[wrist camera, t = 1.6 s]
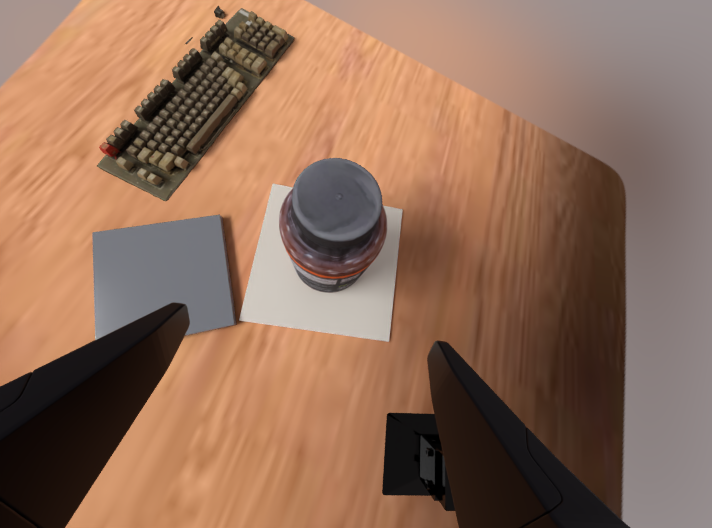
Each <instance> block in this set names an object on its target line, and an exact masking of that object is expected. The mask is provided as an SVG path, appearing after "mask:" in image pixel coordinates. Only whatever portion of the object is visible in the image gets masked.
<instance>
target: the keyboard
mask: <svg viewBox="0 0 712 528" xmlns="http://www.w3.org/2000/svg"><path fill="white" fill-rule="evenodd" d="M214 13H215V16H216V17H219V18H221V19H222V18H224V17H225V14H224V11H223V10H221V9H220V8H219V6H218V7H217V8H216V9H215V11H214ZM294 38H295V37H293V36H291V35H289V34H287V32H286V31H285V30H283V29H281V28H279V27H277V26H276V25H275V26H273V25H272V24H271V23H270V22H268V21H267V22H265V21H264V19H263V18H261V17H257V15H256V14H255V13H254V12H252V11H251V12H248V11H246V10H244V9H242V8H241V9H240V10H239V11H238V12H237V13H236V14H235V15H234V16H233V17H232V18H231V19H230V20H229V21H228V22H227V23H226V24H224V22H222V21H221V20H218V21H217V22H216V23H215V25H214V26H212V27H211V28H210V31H208V32H207V33H206V34H205V37H204V36H203V37H202V38H201V39H200V44H201V48H202V49H203V50H202V51H201V52H200V53H199V52H198V51H197V50H196V49H191V50H190V51H189V55H188V54H186V55H185V56H184V57H183V61H182V60H180V61H179V62H178V67H176V66H175V67H174V68H173V69H172V72H173V77H174V78H176V79H175V80H174V82H173V83H171V82H169V81H168V80H164V79H162V81H161V82H160V86H158V85H157V86H156V87H155V88H154V93H153V92H150V93H149V94H148V95H147V97H148V100H147V99H144V100H143V101H142V102H141V105H142V107H141V106H137V107H136V108H135V110H134V111H135V113H136V114H137V116H138V117H139V119H138V120H137V121H136V123H135V124H134V125H133V124H132V123H130V122H128V121H126V120H124V121H123V122H122V123H121V128H122V129H121V128H118V127H117V128H116V129H115V130H114V134H115V136H113V135H110V136H109V137H108V138H107V139H106V140H107V142H108V143H105V142H104V143H103V144H102V145H101V146H100V147H99V148H100V150H101V151H102V152H103V153H104V154H107V155H106V156H105V157H104V158H103V159H102V160H101V161H100V163H99V164H98V165H97V167H99V168H101V169H102V170H104V171H106V172H108V173H110V174H112V175H114V176H116V177H118V178H120V179H122V180H124V181H125V182H127V183H130V184H132V185H134V186H136V187H138V188H140V189H142V190H143V191H146V192H148V193H150V194H152V195H153V196H155V197H158V198H160V199H162V200H163V201H167V200H169V198H170V197H171V195H172V194H173V193H174V192H175V190H176V189H177V188H178V187H179V185H180V184H181V183H182V182H183V180H184V179H185V178H186V177H187V176H188V174H189V173H190V171H191V170H192V169H193V168H194V167H195V165H196V164H197V163H198V162H199V160H200V159H201V158H202V157H203V155H204V154H205V153H206V151H207V150H208V148H209V147H210V146H211V145H212V144H213V143H214V141H215V139H216V138H217V137H218V136H219V134H220V133H221V132H222V131H223V129H224V128H225V126H226V125H227V124H228V123H229V122H230V120H231V119H232V118H233V117H234V115H235V114H236V113H237V112H238V111H239V109H240V108H241V107H242V105H243V104H244V103H245V102H246V100H247V99H248V98H249V97H250V96H251V94H252V93H253V92H254V90H255V89H256V88H257V87H258V86H259V84H260V83H261V82H262V80H263V79H264V78H265V77H266V76H267V74H268V73H269V72H270V70H271V69H272V68H273V66H274V65H275V64H276V63H277V61H278V60H279V59H280V57H281V56H282V55H283V54H284V53H285V51H286V50H287V49H288V47H289V46H290V45H291V44H292V43H293V40H294ZM191 39H192V38H191ZM191 39H189V40H188V41H187V42H186V44H187V43H188V42H189V41H190V40H191Z"/></svg>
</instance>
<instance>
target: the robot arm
mask: <svg viewBox="0 0 712 528" xmlns="http://www.w3.org/2000/svg"><path fill="white" fill-rule="evenodd" d="M189 325H190V318H189V313H188V307H187V305H186V304H183V303H176V302H173V303H170V304H168V305H166V306H164V307H162V308H160V309H158V310H156V311H154V312H152V313H149V314H147V315H145V316H143V317H141V318H139V319H137V320H135V321H133V322H131V323H129V324H127V325H125V326H123V327H121V328H119V329H117V330H115V331H113V332H111V333H109V334H107V335H105V336H103V337H101V338H99V339H97V340H95V341H92V342H90V343H88V344H86V345H84V346H82V347H80V348H78V349H76V350H74V351H72V352H70V353H68V354H66V355H64V356H62V357H60V358H58V359H56V360H54V361H52V362H50V363H48V364H46V365H44V366H42V367H40V368H38V369H35V370H34V371H33V373H32V372H29V373H27V374H25V375H23V376H21V377H19V378H17V379H15V380H13V381H11V382H9V383H7V384H5V385H3V386H0V528H65V527H66V525H67V524H68V522H69V521H70V519H71V518H72V516H73V514H74V513H75V511H76V510H77V508H78V507H79V505H80V504H81V502H82V501H83V499H84V497H85V496H86V494H87V493H88V491H89V490H90V488H91V487H92V485H93V484H94V482H95V481H96V479H97V477H98V476H99V474H100V473H101V471H102V470H103V468H104V467H105V465H106V464H107V462H108V460H109V459H110V457H111V456H112V454H113V453H114V451H115V450H116V448H117V447H118V445H119V443H120V442H121V440H122V439H123V437H124V436H125V434H126V433H127V431H128V430H129V428H130V426H131V425H132V423H133V422H134V420H135V419H136V417H137V416H138V414H139V413H140V411H141V409H142V408H143V406H144V405H145V403H146V402H147V400H148V399H149V397H150V396H151V394H152V392H153V391H154V389H155V388H156V386H157V385H158V383H159V382H160V380H161V379H162V377H163V375H164V374H165V372H166V371H167V369H168V367H169V365H170V363H171V362H172V360H173V358H174V356H175V354H176V352H177V350H178V348H179V346H180V344H181V342H182V340H183V338H184V336H185V334H186V332H187V330H188V328H189ZM427 361H428V370H429V380H430V389H431V397H432V403H433V409H434V413H435V418H436V423H437V427H438V432H439V437H440V441H441V446H442V451H443V455H444V460H445V465H446V469H447V474H448V479H449V483H450V488H451V493H452V497H453V502H454V507H455V511H456V516H457V521H458V525H459V528H630V527H629V526H628V525H626V524H625V523H624V522H623V521H622V520H621V519H620V518H619V517H618V516H617V515H616V514H615V513H613V512H612V511H611V510H610V509H609V508H608V507H607V506H606V505H605V504H604V503H603V502H602V501H601V500H600V499H599V498H598V497H597V496H596V495H595V494H594V493H593V492H591V491H590V490H589V489H588V488H587V487H586V486H585V485H584V484H583V483H582V482H581V481H580V480H579V479H578V478H577V477H576V476H575V475H574V474H573V473H572V472H571V471H570V470H569V469H567V468H566V467H565V466H564V465H563V464H562V463H561V462H560V461H559V460H558V459H557V458H556V457H555V456H554V455H553V454H552V453H551V452H550V451H549V450H548V449H547V448H546V447H545V445H544V444H543V443H542V442H541V441H540V440H539V439H538V438H537V437H536V436H535V435H534V434H533V433H532V432H531V431H530V430H529V429H528V428H527V427H525V425H524V423H523V422H522V421H521V420H520V419H519V418H518V417H517V416H516V415H515V414H514V413H513V412H512V411H511V410H510V409H509V407H508V406H507V405H506V404H505V403H504V402H503V401H502V400H501V399H500V398H499V397H498V396H497V395H496V394H495V393H494V391H493V390H492V389H491V388H490V387H489V386H488V385H487V384H486V383H485V382H484V381H483V380H482V379H481V378H480V377H479V375H478V374H477V373H476V372H475V371H474V370H473V369H472V368H471V367H470V366H469V365H468V364H467V363H466V362H465V361H464V359H463V358H462V357H461V356H460V355H459V354H458V353H457V352H456V351H455V350H454V349H453V348H452V347H451V346H450V345H449V344H448V343H447V342H444V341H435V343H434V344H433V346H432V348H431V350H430V352H429V354H428V358H427Z"/></svg>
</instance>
